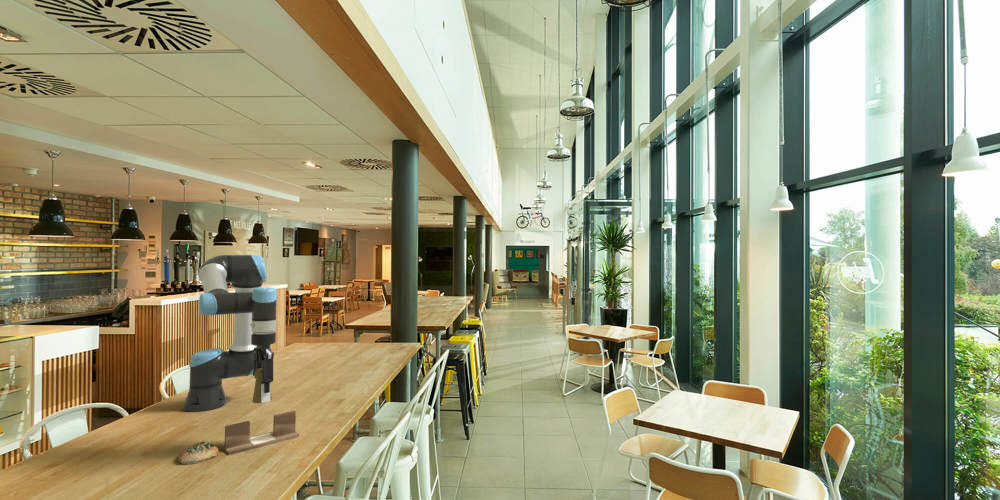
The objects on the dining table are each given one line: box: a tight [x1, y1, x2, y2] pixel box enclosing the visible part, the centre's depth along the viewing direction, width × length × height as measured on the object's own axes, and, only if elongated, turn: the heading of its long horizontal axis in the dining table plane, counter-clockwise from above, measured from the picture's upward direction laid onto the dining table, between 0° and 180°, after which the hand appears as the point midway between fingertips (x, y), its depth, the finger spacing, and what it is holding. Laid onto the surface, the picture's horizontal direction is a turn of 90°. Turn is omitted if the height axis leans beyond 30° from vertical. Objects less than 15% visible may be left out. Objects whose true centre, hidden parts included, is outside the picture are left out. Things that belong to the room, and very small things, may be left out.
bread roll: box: [177, 440, 220, 466], centre depth 143 cm, size 11×11×5 cm
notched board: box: [221, 410, 300, 456], centre depth 155 cm, size 9×22×8 cm, turn 135°
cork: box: [251, 368, 273, 404], centre depth 156 cm, size 6×6×11 cm
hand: (262, 399), depth 156 cm, fingers closed on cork, 6 cm apart
